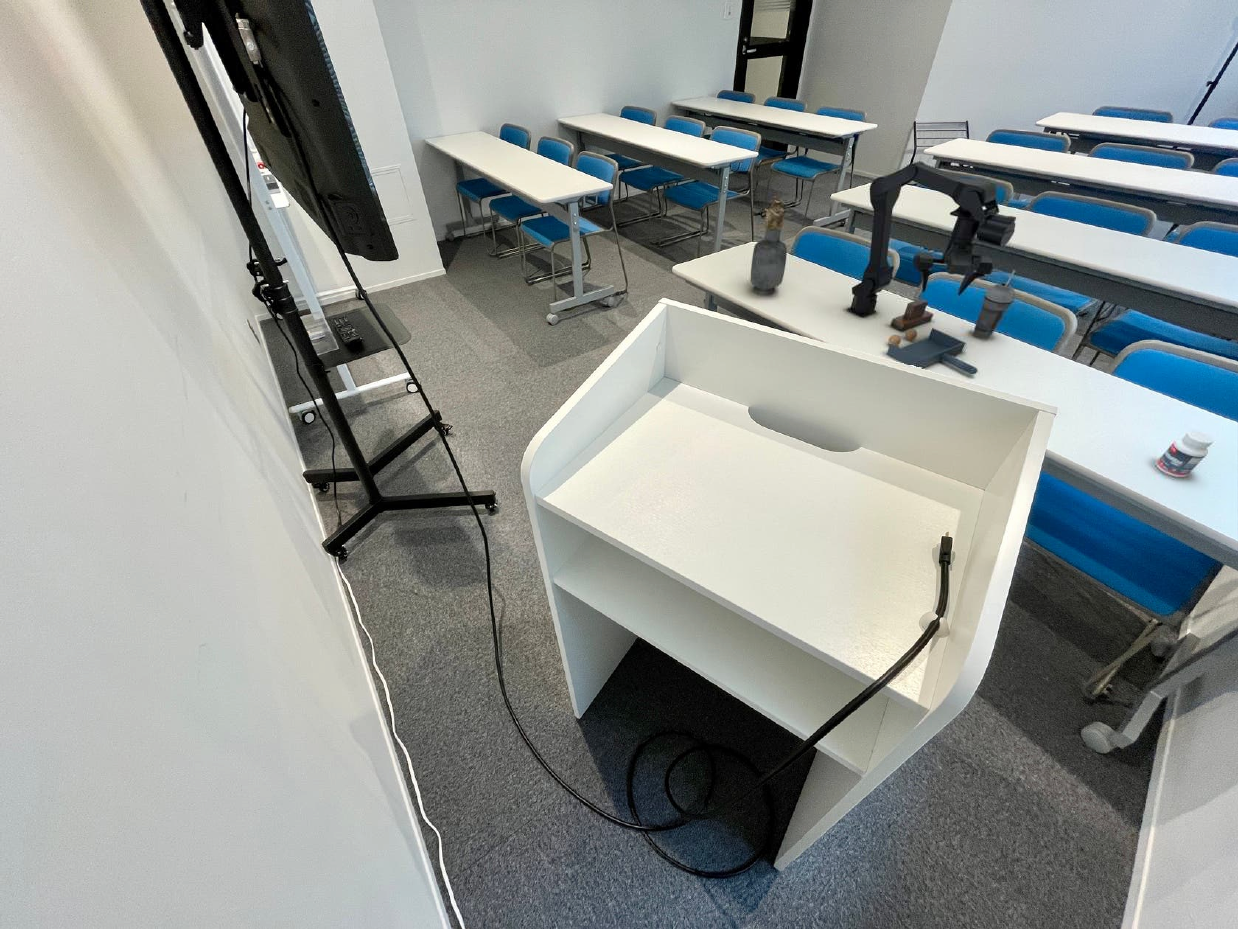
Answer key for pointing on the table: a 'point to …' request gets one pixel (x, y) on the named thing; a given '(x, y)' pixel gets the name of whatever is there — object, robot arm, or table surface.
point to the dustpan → (932, 352)
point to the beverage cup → (994, 308)
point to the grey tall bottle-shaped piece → (770, 252)
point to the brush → (912, 316)
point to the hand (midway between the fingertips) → (940, 293)
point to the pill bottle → (1185, 454)
